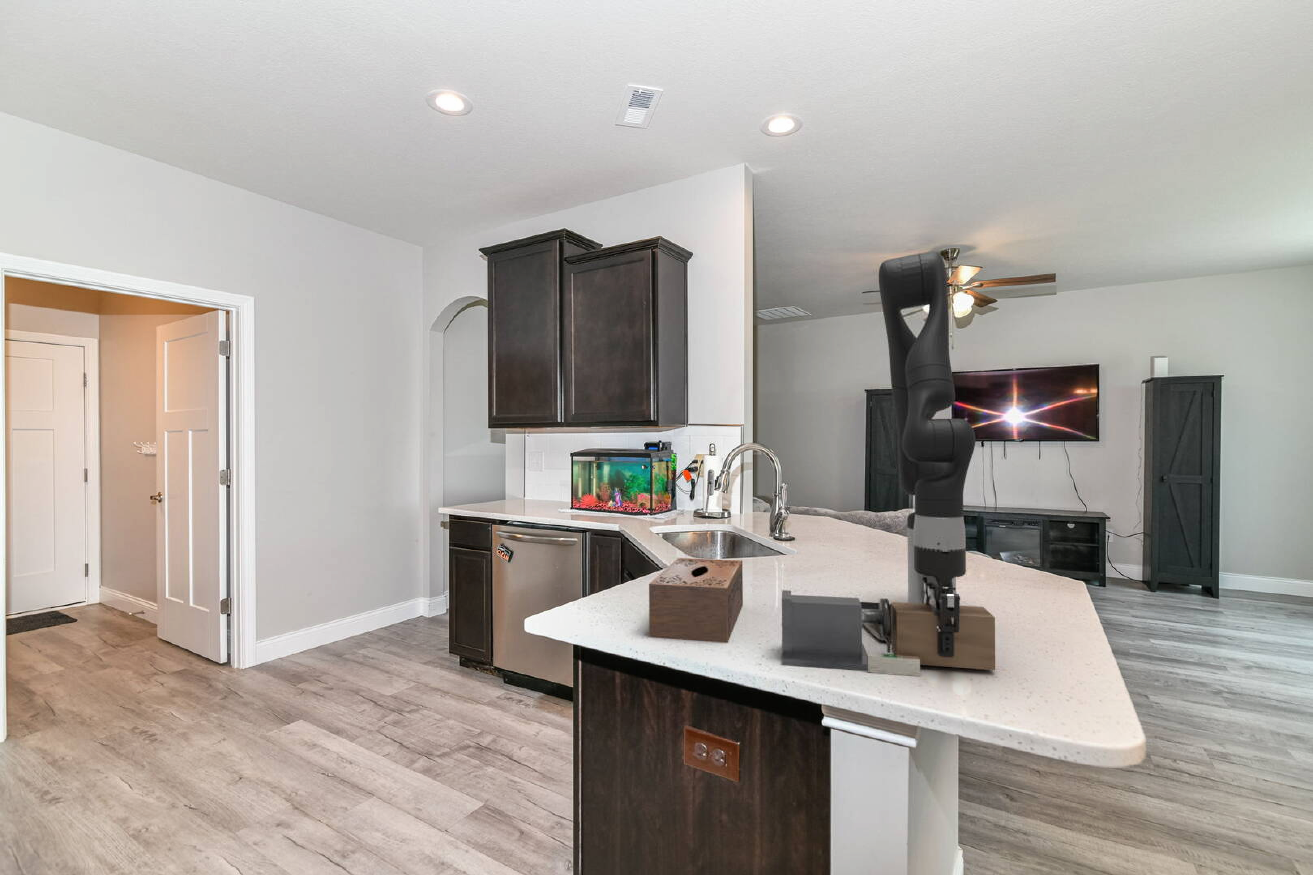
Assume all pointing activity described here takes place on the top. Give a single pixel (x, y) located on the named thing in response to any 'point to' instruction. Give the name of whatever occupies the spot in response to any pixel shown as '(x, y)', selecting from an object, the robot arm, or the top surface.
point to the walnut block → (919, 636)
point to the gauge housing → (833, 637)
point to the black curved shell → (874, 628)
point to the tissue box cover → (696, 600)
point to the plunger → (879, 619)
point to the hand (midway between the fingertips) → (940, 648)
